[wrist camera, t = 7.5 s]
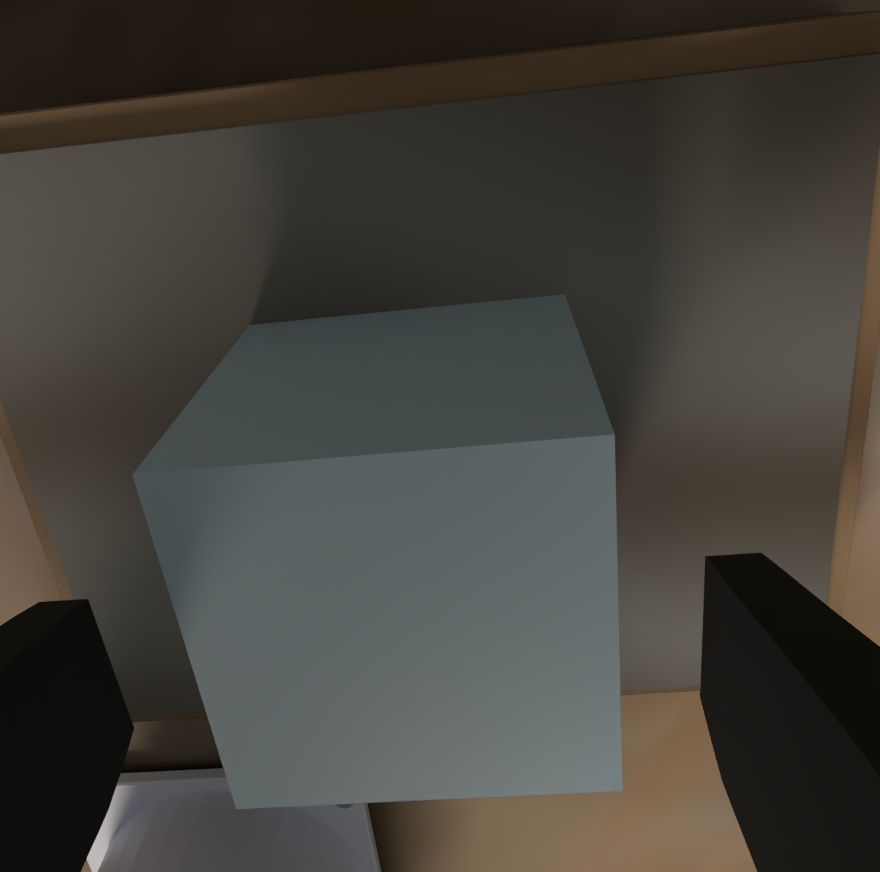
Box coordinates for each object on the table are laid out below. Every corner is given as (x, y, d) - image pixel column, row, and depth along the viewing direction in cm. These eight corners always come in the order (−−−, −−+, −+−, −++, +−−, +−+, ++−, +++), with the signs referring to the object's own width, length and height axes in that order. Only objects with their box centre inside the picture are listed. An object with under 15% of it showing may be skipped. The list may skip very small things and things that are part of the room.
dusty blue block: (577, 562, 15) (622, 791, 10) (306, 581, 15) (236, 809, 11) (564, 294, 13) (614, 433, 8) (249, 325, 13) (132, 475, 9)
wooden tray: (788, 602, 19) (841, 698, 16) (152, 642, 20) (101, 737, 17) (842, 13, 14) (934, 6, 11) (-21, 115, 15) (-132, 132, 12)
